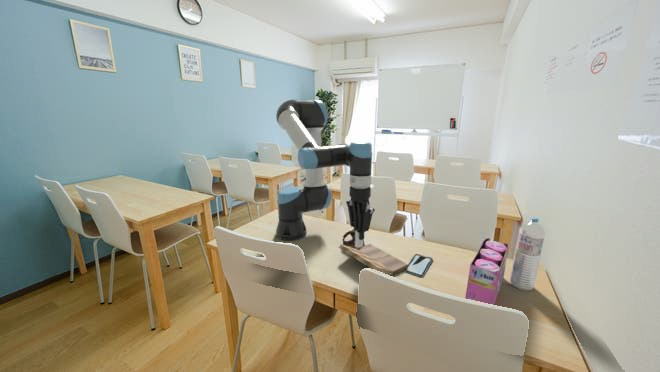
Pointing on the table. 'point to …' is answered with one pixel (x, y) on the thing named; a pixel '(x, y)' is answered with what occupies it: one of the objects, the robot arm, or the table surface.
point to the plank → (366, 259)
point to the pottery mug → (351, 242)
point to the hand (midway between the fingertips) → (359, 246)
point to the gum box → (487, 272)
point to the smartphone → (418, 265)
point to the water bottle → (527, 255)
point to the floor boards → (384, 258)
